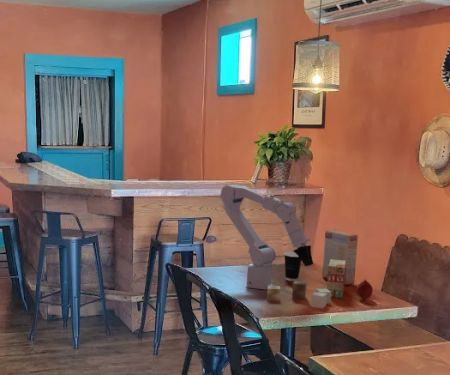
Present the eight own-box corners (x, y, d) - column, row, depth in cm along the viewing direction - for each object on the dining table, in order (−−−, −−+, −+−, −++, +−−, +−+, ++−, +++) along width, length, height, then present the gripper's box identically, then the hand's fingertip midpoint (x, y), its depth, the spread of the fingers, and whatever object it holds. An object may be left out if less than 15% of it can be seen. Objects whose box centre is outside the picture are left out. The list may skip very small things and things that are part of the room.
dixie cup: (297, 277, 264) (299, 252, 263) (303, 282, 256) (305, 256, 255) (279, 277, 262) (281, 251, 261) (285, 282, 254) (287, 256, 253)
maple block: (267, 300, 227) (267, 288, 226) (266, 297, 231) (267, 285, 231) (279, 301, 226) (280, 289, 226) (278, 297, 231) (279, 286, 231)
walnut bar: (292, 299, 230) (293, 283, 229) (293, 295, 234) (294, 280, 234) (304, 300, 229) (305, 284, 228) (305, 297, 233) (306, 281, 233)
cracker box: (355, 284, 256) (358, 234, 254) (344, 285, 253) (348, 235, 251) (331, 276, 268) (335, 229, 266) (321, 277, 265) (324, 229, 263)
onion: (372, 298, 236) (374, 278, 235) (371, 302, 230) (372, 281, 230) (357, 296, 238) (358, 276, 237) (355, 300, 232) (356, 279, 232)
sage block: (318, 304, 225) (319, 292, 225) (314, 300, 230) (315, 288, 229) (330, 304, 226) (331, 292, 226) (326, 300, 231) (327, 288, 230)
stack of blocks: (329, 283, 256) (331, 254, 255) (344, 285, 255) (346, 255, 254) (326, 296, 236) (328, 265, 234) (342, 298, 234) (345, 266, 233)
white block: (310, 306, 222) (311, 294, 221) (314, 303, 226) (315, 291, 225) (322, 308, 220) (323, 296, 219) (326, 305, 224) (326, 293, 223)
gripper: (302, 227, 227) (317, 261, 224) (307, 228, 241) (321, 261, 238) (285, 234, 228) (299, 268, 226) (290, 235, 242) (304, 267, 240)
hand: (309, 265), depth 232 cm, fingers open, 7 cm apart
